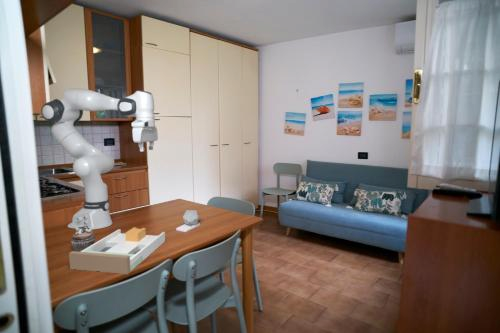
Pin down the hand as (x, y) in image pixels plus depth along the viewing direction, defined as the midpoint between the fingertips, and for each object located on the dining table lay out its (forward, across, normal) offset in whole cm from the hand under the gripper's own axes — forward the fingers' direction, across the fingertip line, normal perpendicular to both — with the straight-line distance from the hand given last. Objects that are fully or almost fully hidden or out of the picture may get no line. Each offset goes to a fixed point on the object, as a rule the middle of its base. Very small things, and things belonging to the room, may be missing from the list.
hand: (146, 150), depth 162 cm
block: (+40, +19, +2) cm, 44 cm away
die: (+43, -12, +18) cm, 48 cm away
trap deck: (+42, +30, +2) cm, 52 cm away
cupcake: (+42, +28, -18) cm, 54 cm away
